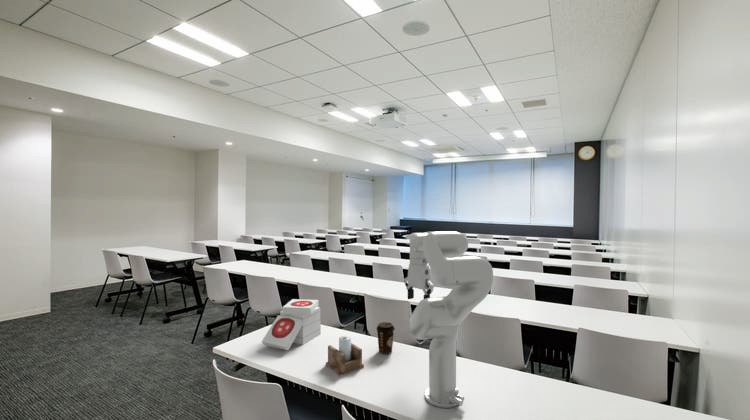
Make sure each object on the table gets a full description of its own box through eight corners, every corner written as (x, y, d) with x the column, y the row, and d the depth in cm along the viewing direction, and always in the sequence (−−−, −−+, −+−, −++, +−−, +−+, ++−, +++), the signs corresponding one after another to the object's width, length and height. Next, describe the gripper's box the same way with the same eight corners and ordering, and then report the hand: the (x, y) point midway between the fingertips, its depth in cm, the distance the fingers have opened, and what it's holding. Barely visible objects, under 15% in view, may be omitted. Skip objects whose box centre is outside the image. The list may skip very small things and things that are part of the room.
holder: (364, 367, 141) (364, 348, 141) (340, 375, 134) (340, 356, 133) (348, 357, 150) (348, 339, 150) (325, 364, 143) (325, 346, 143)
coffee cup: (395, 348, 160) (395, 321, 160) (394, 356, 151) (394, 328, 151) (377, 347, 160) (377, 321, 160) (375, 355, 152) (375, 327, 152)
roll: (353, 364, 141) (353, 338, 141) (342, 367, 138) (343, 340, 138) (346, 359, 146) (347, 334, 146) (336, 362, 142) (336, 337, 142)
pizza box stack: (258, 348, 160) (258, 311, 160) (298, 328, 187) (298, 296, 187) (289, 356, 151) (289, 317, 151) (326, 334, 178) (326, 301, 178)
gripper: (439, 263, 137) (439, 304, 137) (410, 258, 150) (410, 295, 150) (427, 265, 132) (427, 307, 132) (398, 259, 146) (398, 298, 146)
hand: (418, 301), depth 141 cm, fingers open, 9 cm apart
